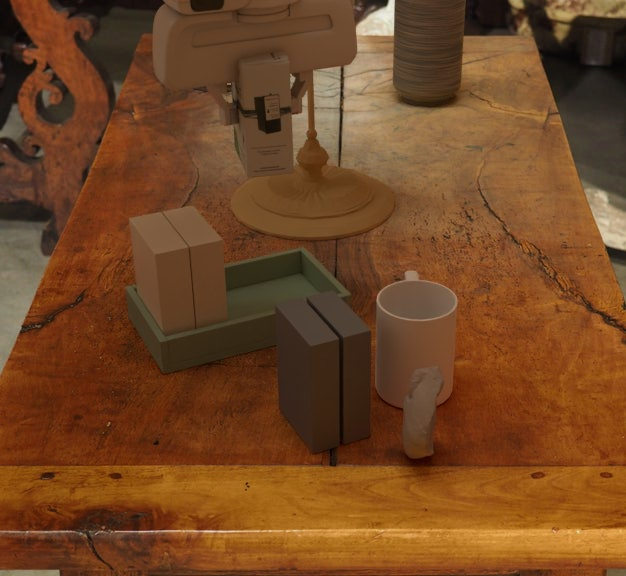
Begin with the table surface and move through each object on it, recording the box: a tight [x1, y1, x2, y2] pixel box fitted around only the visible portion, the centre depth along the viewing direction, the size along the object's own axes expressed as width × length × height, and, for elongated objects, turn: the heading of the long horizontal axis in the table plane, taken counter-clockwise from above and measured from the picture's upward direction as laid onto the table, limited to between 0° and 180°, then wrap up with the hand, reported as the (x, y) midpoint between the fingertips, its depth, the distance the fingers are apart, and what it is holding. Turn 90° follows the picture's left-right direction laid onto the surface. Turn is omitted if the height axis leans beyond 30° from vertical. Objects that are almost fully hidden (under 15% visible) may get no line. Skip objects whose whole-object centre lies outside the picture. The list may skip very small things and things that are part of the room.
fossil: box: [401, 366, 444, 460], centre depth 97 cm, size 6×4×10 cm, turn 167°
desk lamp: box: [225, 70, 396, 242], centre depth 136 cm, size 31×23×40 cm
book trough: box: [124, 246, 352, 375], centre depth 118 cm, size 22×13×4 cm, turn 118°
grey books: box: [275, 290, 372, 455], centre depth 101 cm, size 6×8×12 cm
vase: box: [392, 0, 467, 107], centre depth 178 cm, size 12×12×23 cm
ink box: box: [231, 50, 295, 179], centre depth 107 cm, size 9×5×12 cm, turn 15°
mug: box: [374, 270, 459, 409], centre depth 108 cm, size 12×8×10 cm, turn 3°
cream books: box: [128, 205, 228, 337], centre depth 113 cm, size 7×9×12 cm
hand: (261, 118), depth 107 cm, fingers closed on ink box, 5 cm apart
